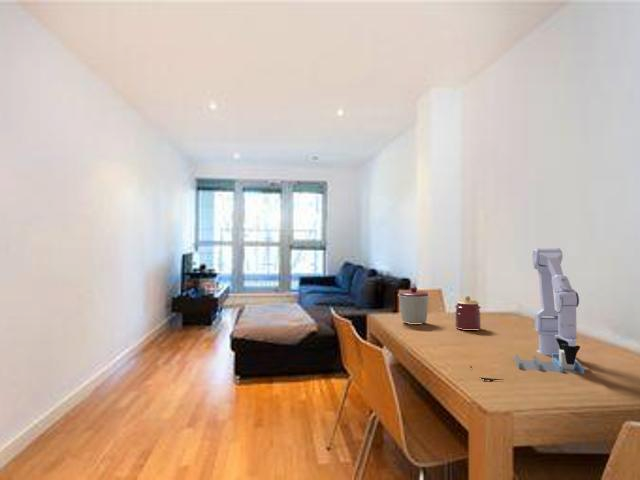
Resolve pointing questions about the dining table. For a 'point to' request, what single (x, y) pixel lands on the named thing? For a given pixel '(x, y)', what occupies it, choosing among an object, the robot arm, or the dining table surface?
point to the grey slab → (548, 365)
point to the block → (564, 361)
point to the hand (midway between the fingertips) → (567, 361)
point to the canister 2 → (468, 314)
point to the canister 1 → (414, 305)
